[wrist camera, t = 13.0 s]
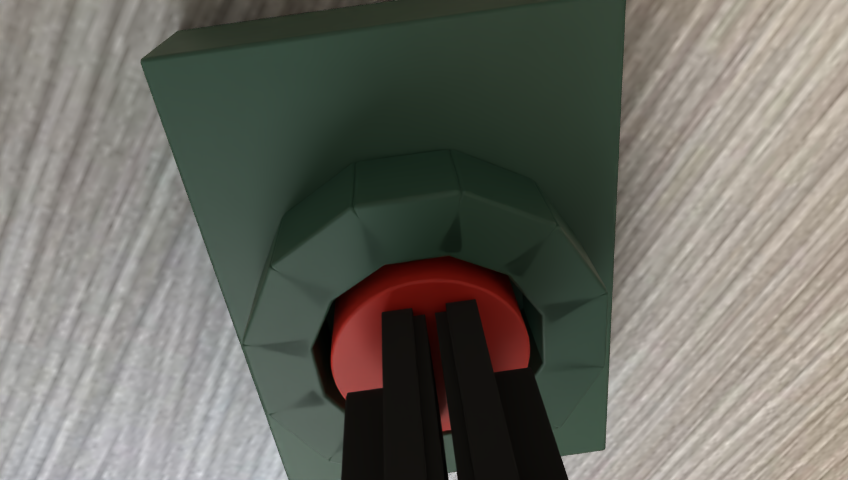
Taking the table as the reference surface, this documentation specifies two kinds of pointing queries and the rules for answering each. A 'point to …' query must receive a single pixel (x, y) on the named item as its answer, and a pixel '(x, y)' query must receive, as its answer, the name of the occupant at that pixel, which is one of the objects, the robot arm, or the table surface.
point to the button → (426, 294)
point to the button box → (403, 183)
